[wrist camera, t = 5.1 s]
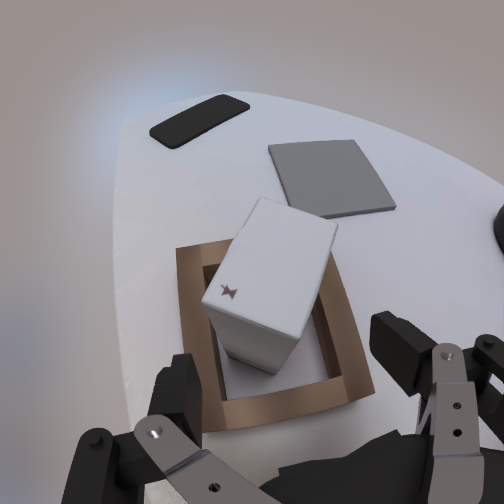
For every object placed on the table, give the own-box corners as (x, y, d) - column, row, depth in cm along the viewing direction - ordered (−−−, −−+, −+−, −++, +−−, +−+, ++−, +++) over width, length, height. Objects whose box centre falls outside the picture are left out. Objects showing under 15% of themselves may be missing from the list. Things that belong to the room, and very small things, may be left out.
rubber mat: (353, 143, 34) (354, 139, 34) (394, 209, 28) (396, 205, 28) (268, 148, 33) (268, 145, 33) (295, 223, 27) (296, 219, 27)
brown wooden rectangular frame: (313, 247, 26) (320, 224, 23) (358, 395, 19) (375, 393, 16) (185, 268, 25) (175, 248, 22) (206, 428, 18) (196, 433, 15)
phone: (253, 105, 39) (172, 148, 33) (253, 110, 40) (173, 153, 34) (222, 93, 42) (146, 130, 36) (222, 97, 42) (147, 135, 37)
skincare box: (276, 376, 20) (299, 345, 10) (226, 355, 21) (194, 301, 10) (304, 309, 23) (342, 220, 12) (257, 291, 24) (256, 192, 13)
